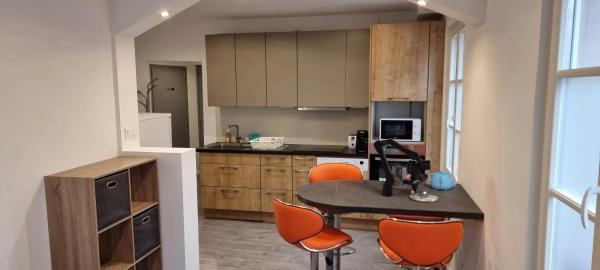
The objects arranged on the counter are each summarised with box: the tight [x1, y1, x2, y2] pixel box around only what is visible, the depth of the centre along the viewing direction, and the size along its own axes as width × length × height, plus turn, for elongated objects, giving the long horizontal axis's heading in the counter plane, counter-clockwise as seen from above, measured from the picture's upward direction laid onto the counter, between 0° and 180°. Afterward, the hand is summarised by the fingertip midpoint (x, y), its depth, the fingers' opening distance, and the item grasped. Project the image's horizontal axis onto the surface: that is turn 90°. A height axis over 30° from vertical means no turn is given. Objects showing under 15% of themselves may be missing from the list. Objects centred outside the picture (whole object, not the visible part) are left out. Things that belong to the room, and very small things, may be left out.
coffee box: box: [391, 165, 408, 190], centre depth 297 cm, size 9×6×16 cm
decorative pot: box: [426, 170, 457, 192], centre depth 295 cm, size 16×16×14 cm
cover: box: [418, 189, 430, 198], centre depth 265 cm, size 6×6×4 cm
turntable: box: [409, 189, 439, 203], centre depth 266 cm, size 18×18×4 cm
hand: (415, 192), depth 270 cm, fingers closed
